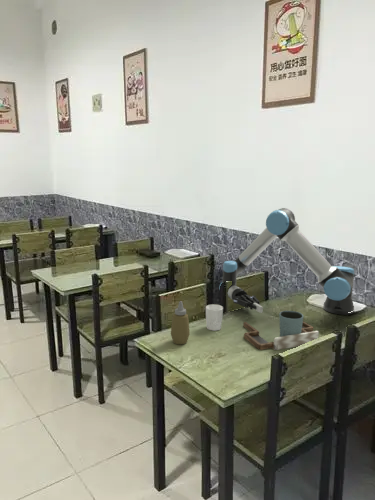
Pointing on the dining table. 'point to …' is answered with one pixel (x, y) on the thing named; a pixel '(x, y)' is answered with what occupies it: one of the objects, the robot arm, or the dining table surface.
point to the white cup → (214, 317)
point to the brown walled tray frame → (280, 338)
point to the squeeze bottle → (180, 325)
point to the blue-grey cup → (290, 323)
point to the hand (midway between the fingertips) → (261, 309)
